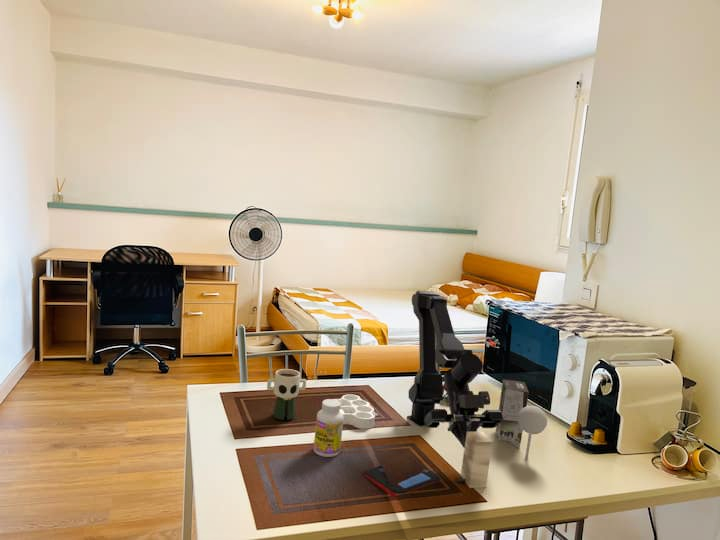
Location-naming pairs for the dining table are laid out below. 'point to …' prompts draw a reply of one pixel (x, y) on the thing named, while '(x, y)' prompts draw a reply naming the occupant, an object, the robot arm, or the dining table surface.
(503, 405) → the coffee box
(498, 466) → the dining table surface
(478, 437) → the white rectangular box
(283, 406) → the character mug
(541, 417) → the lollipop
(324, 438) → the supplement bottle
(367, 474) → the game console
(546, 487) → the dining table surface
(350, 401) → the white cup cluster
